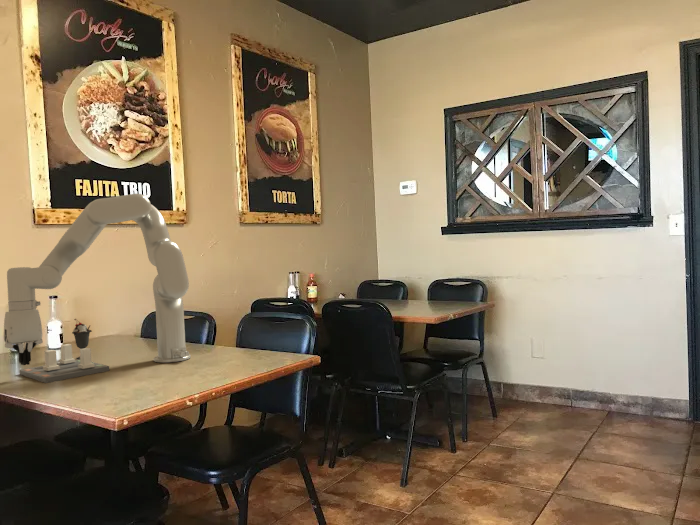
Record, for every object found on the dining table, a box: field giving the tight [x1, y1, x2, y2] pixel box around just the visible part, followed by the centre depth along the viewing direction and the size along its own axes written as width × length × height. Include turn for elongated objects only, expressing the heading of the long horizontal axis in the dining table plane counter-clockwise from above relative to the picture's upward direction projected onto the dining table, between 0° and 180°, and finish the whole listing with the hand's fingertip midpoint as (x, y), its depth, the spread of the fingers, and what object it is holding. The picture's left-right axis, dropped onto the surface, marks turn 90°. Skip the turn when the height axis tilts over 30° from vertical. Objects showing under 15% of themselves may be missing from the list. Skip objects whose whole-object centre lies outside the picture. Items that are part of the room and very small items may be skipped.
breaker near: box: [78, 347, 94, 369], centre depth 191 cm, size 4×4×6 cm
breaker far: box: [58, 343, 76, 364], centre depth 201 cm, size 4×4×6 cm
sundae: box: [71, 318, 93, 360], centre depth 218 cm, size 7×7×15 cm
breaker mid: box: [42, 349, 60, 371], centre depth 190 cm, size 4×4×6 cm
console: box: [19, 359, 110, 384], centre depth 193 cm, size 22×20×2 cm
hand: (25, 364), depth 185 cm, fingers closed
